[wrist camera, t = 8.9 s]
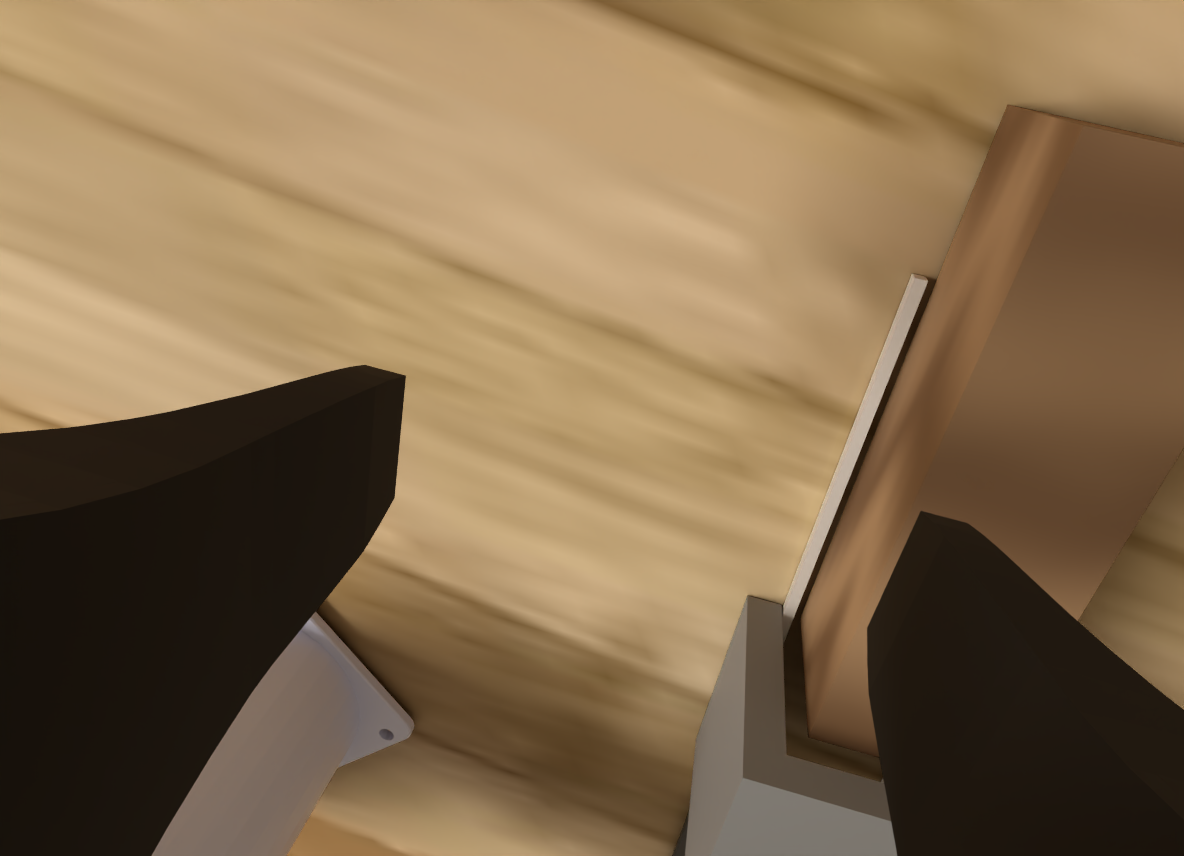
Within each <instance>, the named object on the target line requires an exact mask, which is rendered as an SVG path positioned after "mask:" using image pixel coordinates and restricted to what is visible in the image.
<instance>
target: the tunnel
mask: <svg viewBox="0 0 1184 856" xmlns="http://www.w3.org/2000/svg"><path fill="white" fill-rule="evenodd" d="M927 283H928V280H927V279H926V277H925V276H921V275H917V274H912V275H911V277H910V280H909V283H908V285H907V288H906V290H905V293H904V296H903V298H902V301H901V303H900V306H899V308H898V311H897V314H896V316H895V319H894V321H893V324H892V326H891V329H890V332H889V334H888V337H887V339H886V342H885V345H884V347H883V350H882V352H881V355H880V357H879V360H878V363H877V365H876V368H875V370H874V373H873V375H872V378H871V381H870V383H869V386H868V388H867V391H866V393H865V396H864V399H863V401H862V404H861V406H860V409H859V412H858V414H857V417H856V419H855V422H854V424H853V427H852V430H851V432H850V435H849V437H848V440H847V442H846V445H845V448H844V450H843V453H842V455H841V458H840V460H839V463H838V466H837V468H836V471H835V473H834V476H833V479H832V481H831V484H830V486H829V489H828V491H827V494H826V497H825V499H824V502H823V504H822V507H821V509H820V512H819V515H818V517H817V520H816V522H815V525H814V528H813V530H812V533H811V535H810V538H809V540H808V543H807V546H806V548H805V551H804V553H803V556H802V558H801V561H800V564H799V566H798V569H797V571H796V574H795V576H794V579H793V582H792V584H791V587H790V589H789V592H788V595H787V597H786V600H785V602H784V605H783V607H782V605H780V604H776V603H773V602H769V601H765V600H762V599H758V598H754V597H751V596H747V598H746V601H745V604H744V607H743V610H742V612H741V615H740V618H739V621H738V624H737V626H736V629H735V632H734V635H733V637H732V640H731V643H730V646H729V649H728V651H727V654H726V657H725V660H724V663H723V665H722V668H721V671H720V674H719V676H718V679H717V682H716V685H715V688H714V690H713V693H712V696H711V699H710V702H709V704H708V707H707V710H706V713H705V715H704V718H703V721H702V724H701V727H700V729H699V732H698V735H697V738H696V744H695V755H694V765H693V776H692V786H691V797H690V807H689V818H688V829H687V839H686V850H685V856H897V851H896V846H895V840H894V835H893V829H892V824H891V818H890V813H889V807H888V802H887V796H886V791H885V785H884V780H883V779H882V781H881V782H878V781H875V780H871V779H868V778H865V777H861V776H858V775H854V774H851V773H847V772H844V771H840V770H837V769H834V768H830V767H827V766H823V765H820V764H816V763H813V762H809V761H806V760H803V759H799V758H796V757H792V756H789V755H787V753H786V723H785V693H784V663H783V643H784V641H785V638H786V636H787V633H788V631H789V628H790V626H791V623H792V621H793V618H794V616H795V613H796V611H797V608H798V606H799V603H800V601H801V598H802V596H803V593H804V591H805V588H806V586H807V583H808V581H809V578H810V576H811V573H812V571H813V568H814V566H815V563H816V561H817V558H818V556H819V553H820V551H821V548H822V546H823V543H824V541H825V538H826V536H827V533H828V531H829V528H830V526H831V523H832V521H833V518H834V516H835V513H836V511H837V508H838V506H839V503H840V501H841V498H842V496H843V493H844V491H845V488H846V486H847V483H848V481H849V478H850V476H851V473H852V471H853V468H854V466H855V463H856V461H857V458H858V456H859V453H860V451H861V448H862V446H863V443H864V441H865V438H866V436H867V433H868V431H869V428H870V426H871V423H872V421H873V418H874V416H875V413H876V410H877V408H878V405H879V403H880V400H881V398H882V395H883V393H884V390H885V388H886V385H887V383H888V380H889V378H890V375H891V373H892V370H893V368H894V365H895V363H896V360H897V358H898V355H899V353H900V350H901V348H902V345H903V343H904V340H905V338H906V335H907V333H908V330H909V328H910V325H911V323H912V320H913V318H914V315H915V313H916V310H917V308H918V305H919V303H920V300H921V298H922V295H923V293H924V290H925V288H926V285H927Z"/></svg>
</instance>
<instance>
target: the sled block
mask: <svg viewBox="0 0 1184 856" xmlns="http://www.w3.org/2000/svg"><path fill="white" fill-rule="evenodd" d="M1183 448H1184V143H1180V142H1175V141H1171V140H1166V139H1162V138H1157V137H1153V136H1148V135H1144V134H1139V133H1134V132H1130V131H1125V130H1121V129H1116V128H1112V127H1107V126H1103V125H1098V124H1093V123H1089V122H1084V121H1080V120H1075V119H1071V118H1066V117H1062V116H1057V115H1052V114H1048V113H1043V112H1039V111H1034V110H1030V109H1025V108H1021V107H1016V106H1011V105H1007V107H1006V110H1005V112H1004V115H1003V117H1002V120H1001V122H1000V125H999V127H998V130H997V132H996V135H995V137H994V139H993V142H992V144H991V147H990V149H989V152H988V154H987V157H986V159H985V162H984V164H983V167H982V169H981V172H980V174H979V177H978V179H977V182H976V184H975V186H974V189H973V191H972V194H971V196H970V199H969V201H968V204H967V206H966V209H965V211H964V214H963V216H962V219H961V221H960V224H959V226H958V229H957V231H956V233H955V236H954V238H953V241H952V243H951V246H950V248H949V251H948V253H947V256H946V258H945V261H944V263H943V266H942V268H941V271H940V273H939V276H938V278H937V281H936V283H935V285H934V288H933V290H932V293H931V295H930V298H929V300H928V303H927V305H926V308H925V310H924V313H923V315H922V318H921V320H920V323H919V325H918V328H917V330H916V332H915V335H914V337H913V340H912V342H911V345H910V347H909V350H908V352H907V355H906V357H905V360H904V362H903V365H902V367H901V370H900V372H899V375H898V377H897V379H896V382H895V384H894V387H893V389H892V392H891V394H890V397H889V399H888V402H887V404H886V407H885V409H884V412H883V414H882V417H881V419H880V422H879V424H878V426H877V429H876V431H875V434H874V436H873V439H872V441H871V444H870V446H869V449H868V451H867V454H866V456H865V459H864V461H863V464H862V466H861V469H860V471H859V473H858V476H857V478H856V481H855V483H854V486H853V488H852V491H851V493H850V496H849V498H848V501H847V503H846V506H845V508H844V511H843V513H842V516H841V518H840V521H839V523H838V525H837V528H836V530H835V533H834V535H833V538H832V540H831V543H830V545H829V548H828V550H827V553H826V555H825V558H824V560H823V563H822V565H821V568H820V570H819V572H818V575H817V577H816V580H815V582H814V585H813V587H812V590H811V592H810V595H809V597H808V600H807V602H806V605H805V607H804V610H803V612H802V615H801V617H800V619H801V634H802V650H803V665H804V680H805V696H806V711H807V726H808V737H809V738H813V739H816V740H820V741H823V742H827V743H830V744H834V745H837V746H841V747H844V748H848V749H851V750H854V751H858V752H861V753H865V754H868V755H872V756H875V757H879V752H878V747H877V741H876V735H875V729H874V723H873V718H872V712H871V706H870V699H869V692H868V668H867V627H868V625H869V623H870V620H871V618H872V616H873V614H874V612H875V609H876V607H877V605H878V603H879V601H880V599H881V596H882V594H883V592H884V590H885V588H886V585H887V583H888V581H889V579H890V577H891V575H892V572H893V570H894V568H895V566H896V564H897V561H898V559H899V557H900V555H901V553H902V550H903V548H904V546H905V544H906V542H907V540H908V537H909V535H910V533H911V531H912V529H913V526H914V524H915V522H916V520H917V518H918V515H919V513H920V511H924V512H928V513H932V514H935V515H939V516H943V517H947V518H951V519H954V520H958V521H962V522H966V523H968V524H970V525H971V526H972V527H974V528H975V529H977V530H978V531H979V532H980V533H982V534H983V535H984V536H985V537H986V538H988V539H989V540H990V541H991V542H992V543H993V544H995V545H996V546H997V547H998V548H999V549H1000V550H1001V551H1002V552H1004V553H1005V554H1006V555H1007V556H1008V557H1009V558H1010V559H1011V560H1012V561H1013V562H1014V563H1015V564H1017V565H1018V566H1019V567H1020V568H1021V569H1022V570H1023V571H1024V572H1025V573H1026V574H1027V575H1028V576H1029V577H1030V578H1032V579H1033V580H1034V581H1035V582H1036V583H1037V584H1038V585H1039V586H1040V587H1041V588H1042V589H1043V590H1044V591H1045V592H1047V593H1048V594H1049V595H1050V596H1051V597H1052V598H1053V599H1054V600H1055V601H1056V602H1057V603H1058V604H1059V605H1061V606H1062V607H1063V608H1064V609H1065V610H1066V611H1067V612H1068V613H1069V614H1070V615H1071V616H1073V617H1074V618H1075V619H1076V620H1077V621H1078V620H1079V618H1080V616H1081V615H1082V613H1083V611H1084V610H1085V608H1086V606H1087V605H1088V603H1089V602H1090V600H1091V598H1092V597H1093V595H1094V593H1095V592H1096V590H1097V589H1098V587H1099V585H1100V584H1101V582H1102V580H1103V579H1104V577H1105V575H1106V574H1107V572H1108V571H1109V569H1110V567H1111V566H1112V564H1113V562H1114V561H1115V559H1116V558H1117V556H1118V554H1119V553H1120V551H1121V549H1122V548H1123V546H1124V544H1125V543H1126V541H1127V540H1128V538H1129V536H1130V535H1131V533H1132V531H1133V530H1134V528H1135V526H1136V525H1137V523H1138V522H1139V520H1140V518H1141V517H1142V515H1143V513H1144V512H1145V510H1146V509H1147V507H1148V505H1149V504H1150V502H1151V500H1152V499H1153V497H1154V495H1155V494H1156V492H1157V491H1158V489H1159V487H1160V486H1161V484H1162V482H1163V481H1164V479H1165V478H1166V476H1167V474H1168V473H1169V471H1170V469H1171V468H1172V466H1173V464H1174V463H1175V461H1176V460H1177V458H1178V456H1179V455H1180V453H1181V451H1182V450H1183Z"/></svg>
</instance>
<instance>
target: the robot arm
mask: <svg viewBox="0 0 1184 856" xmlns="http://www.w3.org/2000/svg"><path fill="white" fill-rule="evenodd" d="M405 379H406V376H405V375H401V374H397V373H393V372H390V371H386V370H382V369H378V368H374V367H371V366H367V365H361V366H353V367H348V368H343V369H339V370H334V371H330V372H326V373H322V374H319V375H315V376H311V377H307V378H304V379H300V380H296V381H293V382H289V383H285V384H281V385H278V386H274V387H270V388H267V389H263V390H259V391H256V392H252V393H248V394H244V395H240V396H236V397H232V398H227V399H223V400H219V401H214V402H210V403H206V404H201V405H197V406H193V407H188V408H184V409H180V410H175V411H171V412H166V413H161V414H156V415H150V416H145V417H139V418H133V419H127V420H120V421H113V422H107V423H100V424H93V425H86V426H78V427H70V428H60V429H48V430H36V431H24V432H12V433H1V434H0V856H287V854H288V852H289V851H290V849H291V847H292V846H293V844H294V842H295V840H296V839H297V837H298V835H299V834H300V832H301V830H302V828H303V827H304V825H305V823H306V821H307V820H308V818H309V816H310V815H311V813H312V811H313V809H314V808H315V806H316V804H317V803H318V801H319V799H320V797H321V796H322V794H323V792H324V791H325V789H326V787H327V785H328V784H329V782H330V780H331V778H332V777H333V775H334V773H335V772H336V770H337V768H339V767H341V766H343V765H346V764H348V763H351V762H353V761H355V760H358V759H360V758H363V757H365V756H367V755H370V754H372V753H375V752H377V751H379V750H382V749H384V748H386V747H389V746H391V745H394V744H396V743H398V742H401V741H403V740H406V739H407V738H409V737H410V735H411V733H412V731H413V729H414V722H413V720H412V719H411V717H410V716H409V715H408V714H407V713H406V712H405V711H404V709H403V708H402V707H401V706H400V705H399V704H398V703H397V702H396V701H395V699H394V698H393V697H392V696H391V695H390V694H389V693H388V692H387V691H386V689H385V688H384V687H383V686H382V685H381V684H380V683H379V682H378V680H377V679H376V678H375V677H374V676H373V675H372V674H371V673H370V672H369V670H368V669H367V668H366V667H365V666H364V665H363V664H362V663H361V662H360V660H359V659H358V658H357V657H356V656H355V655H354V654H353V653H352V651H351V650H350V649H349V648H348V647H347V646H346V645H345V644H344V643H343V641H342V640H341V639H340V638H339V637H338V636H337V635H336V634H335V633H334V631H333V630H332V629H331V628H330V627H329V626H328V625H327V624H326V623H325V621H324V620H323V619H322V618H321V617H320V616H319V615H318V614H317V612H316V610H317V609H318V608H319V607H320V605H321V604H322V603H323V602H324V600H325V599H326V598H327V597H328V596H329V594H330V593H331V592H332V591H333V589H334V588H335V587H336V586H337V584H338V583H339V582H340V580H341V579H342V578H343V577H344V575H345V574H346V573H347V572H348V570H349V569H350V568H351V567H352V565H353V564H354V563H355V562H356V560H357V559H358V558H359V556H360V555H361V554H362V552H363V551H364V549H365V548H366V546H367V545H368V543H369V541H370V540H371V538H372V536H373V535H374V533H375V531H376V530H377V528H378V526H379V524H380V523H381V521H382V519H383V517H384V516H385V514H386V512H387V510H388V508H389V507H390V505H391V503H392V501H393V500H394V497H395V486H396V476H397V465H398V454H399V443H400V433H401V422H402V411H403V401H404V390H405ZM867 668H868V692H869V699H870V706H871V712H872V718H873V723H874V729H875V735H876V741H877V747H878V752H879V758H880V763H881V769H882V774H883V780H884V785H885V791H886V796H887V802H888V807H889V813H890V818H891V824H892V829H893V835H894V840H895V846H896V851H897V856H1184V710H1183V709H1182V708H1180V707H1179V706H1178V705H1177V704H1175V703H1174V702H1173V701H1172V700H1170V699H1169V698H1168V697H1166V696H1165V695H1164V694H1163V693H1161V692H1160V691H1159V690H1158V689H1156V688H1155V687H1154V686H1153V685H1151V684H1150V683H1149V682H1148V681H1147V680H1145V679H1144V678H1143V677H1142V676H1141V675H1139V674H1138V673H1137V672H1136V671H1135V670H1133V669H1132V668H1131V667H1130V666H1129V665H1127V664H1126V663H1125V662H1124V661H1123V660H1122V659H1120V658H1119V657H1118V656H1117V655H1116V654H1114V653H1113V652H1112V651H1111V650H1110V649H1108V648H1107V647H1106V646H1105V645H1104V644H1103V643H1102V642H1100V641H1099V640H1098V639H1097V638H1096V637H1095V636H1094V635H1093V634H1091V633H1090V632H1089V631H1088V630H1087V629H1086V628H1085V627H1084V626H1082V625H1081V624H1080V623H1079V622H1078V621H1077V620H1076V619H1075V618H1074V617H1073V616H1071V615H1070V614H1069V613H1068V612H1067V611H1066V610H1065V609H1064V608H1063V607H1062V606H1061V605H1059V604H1058V603H1057V602H1056V601H1055V600H1054V599H1053V598H1052V597H1051V596H1050V595H1049V594H1048V593H1047V592H1045V591H1044V590H1043V589H1042V588H1041V587H1040V586H1039V585H1038V584H1037V583H1036V582H1035V581H1034V580H1033V579H1032V578H1030V577H1029V576H1028V575H1027V574H1026V573H1025V572H1024V571H1023V570H1022V569H1021V568H1020V567H1019V566H1018V565H1017V564H1015V563H1014V562H1013V561H1012V560H1011V559H1010V558H1009V557H1008V556H1007V555H1006V554H1005V553H1004V552H1002V551H1001V550H1000V549H999V548H998V547H997V546H996V545H995V544H993V543H992V542H991V541H990V540H989V539H988V538H986V537H985V536H984V535H983V534H982V533H980V532H979V531H978V530H977V529H975V528H974V527H972V526H971V525H970V524H968V523H966V522H962V521H958V520H954V519H951V518H947V517H943V516H939V515H935V514H932V513H928V512H924V511H920V513H919V515H918V518H917V520H916V522H915V524H914V526H913V529H912V531H911V533H910V535H909V537H908V540H907V542H906V544H905V546H904V548H903V550H902V553H901V555H900V557H899V559H898V561H897V564H896V566H895V568H894V570H893V572H892V575H891V577H890V579H889V581H888V583H887V585H886V588H885V590H884V592H883V594H882V596H881V599H880V601H879V603H878V605H877V607H876V609H875V612H874V614H873V616H872V618H871V620H870V623H869V625H868V627H867ZM389 730H390V731H389Z"/></svg>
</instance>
